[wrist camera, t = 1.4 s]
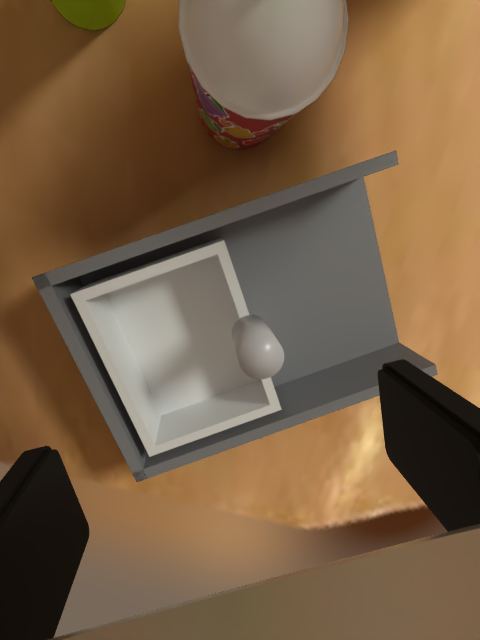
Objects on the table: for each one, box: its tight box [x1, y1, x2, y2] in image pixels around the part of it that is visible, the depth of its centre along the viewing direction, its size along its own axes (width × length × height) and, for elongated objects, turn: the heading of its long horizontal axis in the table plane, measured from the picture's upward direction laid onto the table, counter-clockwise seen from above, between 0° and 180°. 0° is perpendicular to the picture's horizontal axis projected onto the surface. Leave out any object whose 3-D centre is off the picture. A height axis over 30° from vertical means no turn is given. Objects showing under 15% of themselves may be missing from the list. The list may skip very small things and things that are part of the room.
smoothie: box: [178, 0, 349, 150], centre depth 21 cm, size 8×8×20 cm
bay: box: [32, 150, 437, 482], centre depth 32 cm, size 28×19×7 cm
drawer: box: [70, 237, 284, 457], centre depth 28 cm, size 13×15×11 cm
